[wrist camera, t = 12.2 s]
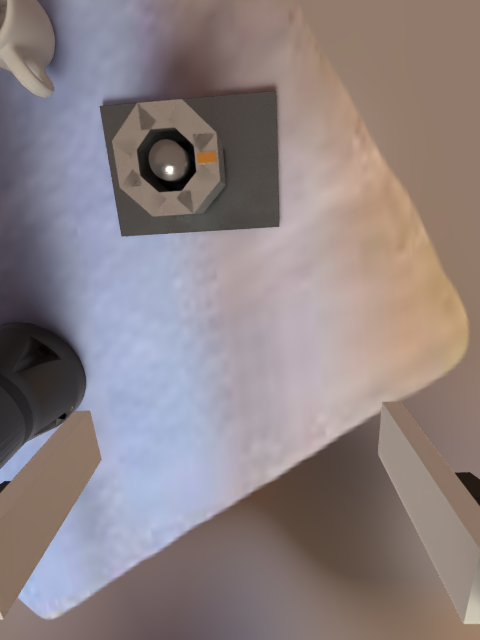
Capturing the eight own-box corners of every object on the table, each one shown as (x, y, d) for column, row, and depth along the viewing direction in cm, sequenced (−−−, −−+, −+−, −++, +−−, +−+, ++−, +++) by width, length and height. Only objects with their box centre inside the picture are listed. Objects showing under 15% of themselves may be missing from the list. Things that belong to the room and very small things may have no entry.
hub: (145, 217, 36) (123, 218, 30) (131, 123, 33) (105, 104, 27) (227, 211, 36) (222, 211, 30) (220, 115, 33) (213, 95, 27)
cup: (99, 85, 34) (56, 50, 27) (41, 129, 36) (-16, 108, 28) (31, -30, 31) (-39, -106, 24) (-29, 23, 33) (-114, -33, 25)
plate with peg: (124, 235, 39) (92, 242, 31) (103, 108, 35) (60, 80, 27) (278, 226, 38) (284, 230, 30) (275, 93, 34) (281, 59, 26)
